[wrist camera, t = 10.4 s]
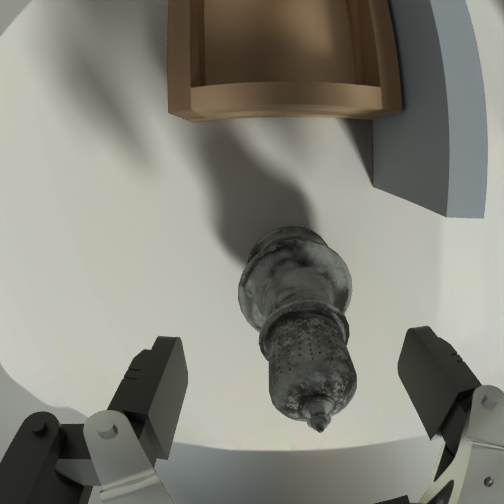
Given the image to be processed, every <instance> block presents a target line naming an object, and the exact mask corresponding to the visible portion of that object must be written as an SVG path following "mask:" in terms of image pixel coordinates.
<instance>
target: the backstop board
mask: <svg viewBox="0 0 504 504" xmlns="http://www.w3.org/2000/svg"><path fill="white" fill-rule="evenodd" d="M387 2H388V6H389V11H390V16H391V21H392V26H393V32H394V38H395V45H396V51H397V59H398V67H399V76H400V86H401V98H402V112H398V113H394V114H390V115H386V116H382V117H378V118H374V119H372V121H373V187H375V188H377V189H380V190H383V191H385V192H388V193H390V194H393V195H395V196H398V197H400V198H403V199H405V200H408V201H410V202H413V203H415V204H417V205H420V206H422V207H424V208H427V209H429V210H431V211H434V212H436V213H438V214H440V215H442V216H445V217H456V218H484V211H485V200H486V187H487V164H488V138H487V116H486V103H485V93H484V84H483V77H482V70H481V64H480V58H479V53H478V48H477V43H476V39H475V34H474V30H473V26H472V22H471V18H470V15H469V11H468V8H467V5H466V1H465V0H387Z"/></svg>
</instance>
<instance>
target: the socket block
mask: <svg viewBox="0 0 504 504" xmlns="http://www.w3.org/2000/svg"><path fill="white" fill-rule="evenodd" d="M167 79H168V113H170V114H172V115H175V116H178V117H181V118H183V119H186V120H189V121H191V122H198V121H209V120H220V119H234V118H252V117H336V118H354V119H368V120H370V119H374V118H378V117H382V116H386V115H390V114H394V113H398V112H402V98H401V86H400V76H399V67H398V59H397V51H396V45H395V38H394V32H393V26H392V21H391V16H390V11H389V6H388V2H387V0H169V6H168V40H167Z"/></svg>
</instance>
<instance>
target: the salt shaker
mask: <svg viewBox="0 0 504 504" xmlns="http://www.w3.org/2000/svg"><path fill="white" fill-rule="evenodd" d="M351 295H352V280H351V275H350V273H349V270H348V268H347V265H346V264H345V262H344V261H343V260H342V259H341V257H340V256H339V255H338V254H337V253H336V252H335V251H333V250H332V249H331V248H329V247H328V246H327V245H326V243H325V242H324V241H323V240H322V239H321V237H319V236H318V235H316V234H315V233H313V232H312V231H309V230H307V229H304V228H301V227H285V228H280V229H276V230H274V231H272V232H270V233H268V234H266V235H265V236H264V237H263V238H261V239H260V240H259V241H258V242H257V244H256V245H255V247H254V248H253V249H252V251H251V254H250V257H249V260H248V265H247V266H246V268H245V269H244V271H243V273H242V276H241V279H240V282H239V288H238V300H239V304H240V308H241V311H242V313H243V315H244V316H245V318H246V320H247V321H248V323H249V324H250V325H251V326H252V327H254V328H255V329H256V330H257V331H258V332H260V335H259V345H260V349H261V352H262V354H263V355H264V357H265V358H266V360H267V361H269V393H270V396H271V400H272V403H273V405H274V406H275V407H276V409H277V410H278V411H280V412H281V413H282V414H284V415H285V416H287V417H288V418H291V419H293V420H297V421H304V422H307V424H308V425H309V427H312V428H313V429H314V430H316V431H318V432H320V433H321V432H323V431H324V429H325V428H327V425H328V424H329V423H330V422H331V417H332V416H333V415H335V414H337V413H339V412H340V411H341V410H343V409H344V408H345V407H346V406H347V405H348V403H349V402H350V401H351V399H352V398H353V396H354V394H355V391H356V389H357V374H356V372H355V369H354V366H353V363H352V360H351V358H350V355H349V352H348V349H347V347H346V345H347V342H348V339H349V324H348V322H347V320H346V317H345V315H344V314H345V312H346V310H347V308H348V306H349V304H350V300H351Z"/></svg>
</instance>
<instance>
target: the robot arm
mask: <svg viewBox="0 0 504 504" xmlns="http://www.w3.org/2000/svg"><path fill="white" fill-rule="evenodd" d="M398 374H399V377H400V379H401V381H402V383H403V385H404V387H405V389H406V391H407V393H408V395H409V397H410V399H411V401H412V403H413V405H414V407H415V409H416V411H417V413H418V415H419V417H420V419H421V421H422V423H423V425H424V427H425V429H426V432H427V434H428V436H429V438H430V440H435V439H438V438H441V437H443V439H444V443H443V444H442V446H441V449H440V452H439V455H438V458H437V461H436V464H435V467H434V471H433V473H432V476H431V479H430V482H429V484H428V486H427V489H426V490H425V492H424V494H423V495H422V497H421V498H420V500H419V501H418V503H409V499H408V496H407V495H405V496H402V497H398V498H395V499H392V500H387V501H383V502H379V503H375V504H504V392H503V391H502V390H500V389H499V388H497V387H495V386H492V385H483V386H482V384H481V383H480V382H479V380H478V379H477V378H476V376H475V375H474V374H473V372H472V371H471V370H470V368H469V367H468V366H467V365H466V363H465V362H463V359H462V358H461V357H460V356H459V354H458V355H457V352H456V351H455V349H454V348H453V347H452V346H451V344H449V343H448V342H446V341H445V340H443V339H442V338H440V337H437V335H436V334H435V333H434V332H433V331H432V329H431V328H430V327H429V326H423V327H416V328H410V329H408V331H407V333H406V336H405V340H404V343H403V347H402V351H401V354H400V357H399V361H398ZM187 385H188V371H187V366H186V361H185V356H184V351H183V346H182V341H181V338H180V337H164V336H158V337H157V339H156V341H155V343H154V345H153V347H152V349H151V350H146V349H144V350H143V351H142V352H140V353H139V354H138V355H137V356H136V357H134V359H133V360H132V362H131V364H130V366H129V368H128V370H127V372H126V374H125V375H124V379H122V381H121V383H120V385H119V387H118V389H117V391H116V393H115V395H114V397H113V399H112V401H111V403H110V405H109V407H108V409H107V410H104V411H100V412H97V413H95V414H93V415H92V416H90V417H89V418H88V419H87V421H86V423H85V424H60V423H59V421H58V420H57V418H56V417H55V416H54V415H53V414H51V413H49V412H36V413H33V414H32V415H30V416H29V417H27V418H26V419H25V420H24V422H23V423H22V425H21V427H20V428H19V430H18V432H17V434H16V435H15V437H14V439H13V441H12V442H11V444H10V446H9V448H8V450H7V452H6V453H5V455H4V457H3V459H2V461H1V463H0V504H88V501H89V498H90V495H91V491H92V488H93V486H94V485H95V486H96V485H97V486H102V491H100V497H101V501H102V503H103V504H175V502H174V500H173V499H172V497H171V496H170V494H169V493H168V491H167V489H166V488H165V487H164V485H163V483H162V481H161V480H160V478H159V476H158V475H157V473H156V471H155V469H154V466H155V462H156V459H157V458H159V459H166V460H168V457H169V453H170V449H171V445H172V441H173V438H174V434H175V430H176V426H177V422H178V419H179V415H180V411H181V408H182V404H183V400H184V397H185V393H186V389H187Z"/></svg>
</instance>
